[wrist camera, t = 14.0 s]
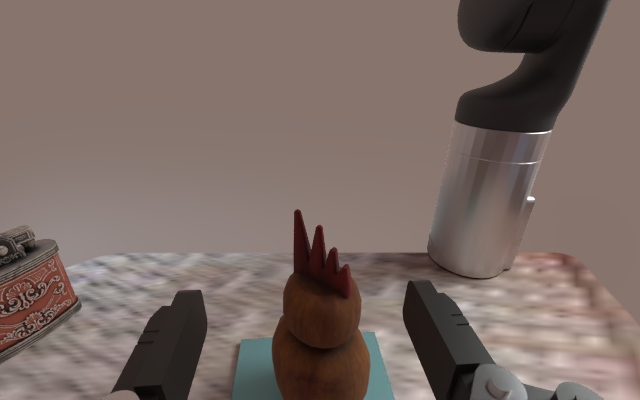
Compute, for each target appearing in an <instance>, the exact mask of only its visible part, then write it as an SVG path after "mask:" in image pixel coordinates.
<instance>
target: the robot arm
mask: <svg viewBox="0 0 640 400" xmlns="http://www.w3.org/2000/svg"><path fill="white" fill-rule="evenodd" d="M610 2H611V0H460V4H459V9H458V29H459V32H460V35H461V37H462V39H463V41H464V42H465V43H466V44H467V45H468V46H469V47H471V48H474V49H477V50H480V51H486V52H505V53H525V55H524V58H523V60H522V62H521V64H520V66H519V67H518V69H517V70H516V71H514V72H513V73H512V74H510V75H509V76H507V77H506V78H504V79H502V80H500V81H498V82H495V83H493V84H490V85H487V86H484V87H481V88H477V89H474V90H471V91H468V92H466V93H464V94H463V95H462V96H461V97H460V99H459V101H458V105H457V109H456V114H455V119H454V123H453V128H452V132H451V138H450V142H449V147H448V152H447V156H446V161H445V166H444V170H443V175H442V180H441V185H440V189H439V194H438V199H437V203H436V208H435V213H434V218H433V222H432V227H431V232H430V235H429V242H428V247H427V250H428V253H429V255H430V257H431V258H432V259H433V260H434V261H435V262H436V263H438V264H439V265H440V266H442V267H444V268H445V269H447V270H449V271H452V272H454V273H457V274H460V275H463V276H467V277H472V278H490V277H494V276H496V275H498V274H500V273H501V272H502V271H503V270H504V269H511V267H512V265H513V262H514V259H515V256H516V254H517V251H518V248H519V245H520V243H521V240H522V237H523V235H524V232H525V229H526V226H527V224H528V221H529V218H530V215H531V213H532V210H533V207H534V204H535V199H534V198H533V197H532V196H530V192H531V189H532V186H533V183H534V181H535V178H536V175H537V172H538V169H539V166H540V164H541V160H542V158H543V155H544V152H545V149H546V146H547V143H548V140H549V138H550V135H551V132H552V129H553V126H554V124H555V121H556V118H557V116H558V114H559V113H560V111H561V110H562V108H563V107H564V105H565V104H566V102H567V101H568V99H569V98H570V96H571V94H572V92H573V90H574V88H575V85H576V83H577V80H578V77H579V75H580V72H581V70H582V68H583V65H584V63H585V61H586V58H587V55H588V53H589V51H590V49H591V46H592V44H593V42H594V39H595V37H596V35H597V33H598V30H599V28H600V26H601V23H602V21H603V19H604V17H605V14H606V11H607V9H608V7H609V4H610ZM403 320H404V324H405V326H406V329H407V331H408V334H409V336H410V338H411V341H412V343H413V346H414V348H415V350H416V353H417V355H418V358H419V360H420V362H421V365H422V367H423V369H424V372H425V374H426V377H427V379H428V381H429V384H430V386H431V389H432V391H433V393H434V396H435V398H436V400H604V399H603V398H602V397H600V396H599V395H598V394H597V393H595V392H594V391H592V390H590V389H588V388H587V387H585V386H582V385H580V384H577V383H572V382H564V383H561V384H560V385H559V386H558V387H557V389H556V391H555V392H554V391H550V390H546V389H541V388H537V387H533V386H529V385H526V384H523V383H521V382H520V380H519V379H518V378H517V377H516V376H515V375H514V374H512V373H511V372H510V371H508V370H507V369H505V368H503V367H501V366H498V365H496V364H495V362H494V361H493V359H492V358H491V356H490V355H489V353H488V352H487V350H486V349H485V347H484V346H483V344H482V343H481V341H480V340H479V338H478V336H477V335H476V333H475V332H474V330H473V329H472V327H471V326H469V323H468V321H467V320H466V318H465V317H464V316H463V314H462V312H461V310H460V309H459V307H458V306H457V304H456V303H455V302H454V301H453V300H452V299H450V298H449V297H448V296H447V295H446V294H444V293H437V291H436V289H435V288H434V286H433V285H432V283H431V282H430V281H429V280H417V281H409V282H408V285H407V290H406V295H405V300H404V306H403ZM206 333H207V316H206V311H205V306H204V301H203V297H202V292H201V290H183V291H178V292H177V294H176V296H175V298H174V300H173V302H172V304H171V306H162V307H161V308H160V309H159V310H158V311H157V312H156V313H155V314H154V315H153V316H152V317H151V318H150V319H149V321H148V323H147V325H146V327H145V329H144V331H143V334H142V335H141V337H140V338H139V340H138V344H137V345H136V346H135V348H134V350H133V352H132V354H131V356H130V358H129V360H128V362H127V363H126V365H125V367H124V369H123V371H122V373H121V375H120V377H119V379H118V381H117V383H116V385H115V386H114V388H113V390H112V392H111V393H110V394H109V395H107V396H105V397H103V398H102V399H100V400H187V398H188V395H189V392H190V388H191V385H192V381H193V378H194V375H195V371H196V368H197V364H198V361H199V358H200V354H201V351H202V347H203V344H204V341H205V337H206Z"/></svg>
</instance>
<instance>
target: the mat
mask: <svg viewBox="0 0 640 400" xmlns="http://www.w3.org/2000/svg"><path fill="white" fill-rule="evenodd" d="M361 334H362V337H363V339H364V341H365V343H366V346H367V348H368V351H369V353H370V363H371V367H370V375H369V383H368V388H367V393H366V395H365V397H364V399H363V400H395V399H394V395H393V392H392V389H391V385H390V382H389V379H388V376H387V372H386V369H385V366H384V363H383V359H382V356H381V353H380V350H379V346H378V343H377V340H376V336H375V333H374V332H367V333H361ZM272 339H273V338H260V339H242V340H241V344H240V350H239V356H238V362H237V367H236V373H235V379H234V385H233V390H232V396H231V400H283V398H282V395H281V393H280V390H279V388H278V385H277V382H276V377H275V372H274V367H273V361H272Z"/></svg>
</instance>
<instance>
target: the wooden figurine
mask: <svg viewBox="0 0 640 400" xmlns="http://www.w3.org/2000/svg"><path fill="white" fill-rule="evenodd" d="M283 313H284V315H283V316H282V317H281V318H280V321H279V323H278V326H277V328H276V331H275V334H274V336H273V339H272V361H273V367H274V372H275V377H276V382H277V385H278V388H279V390H280V393H281V395H282V398H283V400H363V399H364V397H365V395H366V393H367V388H368V383H369V375H370V367H371V363H370V353H369V351H368V348H367V346H366V343H365V341H364V339H363V337H362V334H361V332H360V330H359V329H358V325H359V321H360V314H361V298H360V294H359V291H358V288H357V284H356V283H355V281H354V280H353V278H352V277H351V273H350V268H349V265H348V264H345V265H344V266H343V267H342V268H341V267H339V262H338V253H337V249H336V248H335V247H334V248H332V249H331V250H330V251H329V254H328V258H326V251H325V243H324V235H323V227H322V226H321V225H318V226H317V227H316V231H315V235H314V240H313V245H312V249H311V248H310V244H309V241H308V237H307V233H306V229H305V226H304V222H303V218H302V214H301V211H300V210H298V209H297V210H296V211H295V212H294V273H293V274H292V275H291V276H290V277H289V279H288V282H287V284H286V286H285V289H284V296H283Z"/></svg>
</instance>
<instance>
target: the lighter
mask: <svg viewBox="0 0 640 400" xmlns="http://www.w3.org/2000/svg"><path fill="white" fill-rule="evenodd" d="M34 238H35V235H34V233H33V231H32V229H31V227H30V226H28V225H23V226H19V227H16V228H14V229H11V230H8V231H6V232H3V233H1V234H0V364H1V363H3V362H4V361H6V360H8V359H10V358H12V357H13V356H15V355H17V354H19V353H21V352H22V351H24V350H25V349H27V348H29V347H30V346H32V345H33V344H35V343H37V342H38V341H40V340H41V339H43V338H45V337H46V336H47V335H49V334H50V333H51V332H53V331H54V330H56V329H57V328H58V327H60V326H61V325H63V324H64V323H65V322H66V321H68V320H69V319H70V318H71V317H72V316H74V315H75V314H76V313H77V312H78V311H79V310H80V309H81V307H82V305H81V302H80V299H79V297H78V296H77V295H75V293H74V291H73V288H72V286H71V284H70V281H69V279H68V276H67V274H66V272H65V269H64V267H63V265H62V262H61V260H60V257H59V255H58V251H59V248H58V246H57V243H56V241H54V240H51V239H43V240H37V241H35V239H34ZM19 244H20V245H22V246H19V247H17V245H19Z"/></svg>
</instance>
